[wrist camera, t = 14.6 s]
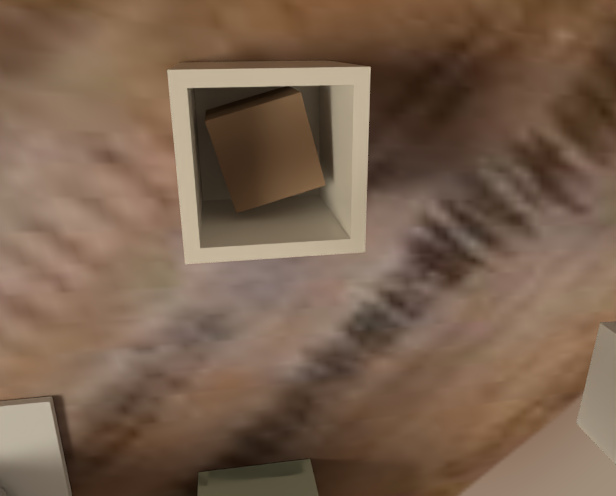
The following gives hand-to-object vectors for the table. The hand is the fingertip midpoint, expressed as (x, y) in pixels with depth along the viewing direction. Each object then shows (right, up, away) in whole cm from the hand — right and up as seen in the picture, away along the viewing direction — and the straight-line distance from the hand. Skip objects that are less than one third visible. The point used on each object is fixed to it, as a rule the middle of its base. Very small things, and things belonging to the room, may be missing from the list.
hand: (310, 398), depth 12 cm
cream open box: (-3, +9, +16) cm, 18 cm away
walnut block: (-2, +8, +15) cm, 17 cm away
